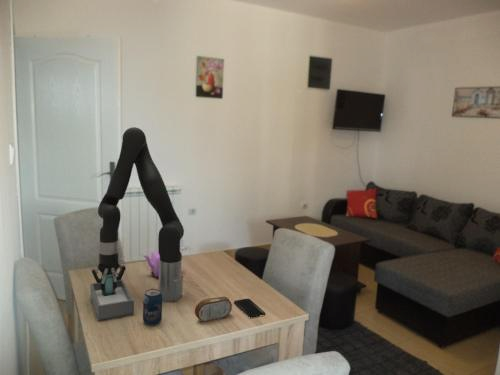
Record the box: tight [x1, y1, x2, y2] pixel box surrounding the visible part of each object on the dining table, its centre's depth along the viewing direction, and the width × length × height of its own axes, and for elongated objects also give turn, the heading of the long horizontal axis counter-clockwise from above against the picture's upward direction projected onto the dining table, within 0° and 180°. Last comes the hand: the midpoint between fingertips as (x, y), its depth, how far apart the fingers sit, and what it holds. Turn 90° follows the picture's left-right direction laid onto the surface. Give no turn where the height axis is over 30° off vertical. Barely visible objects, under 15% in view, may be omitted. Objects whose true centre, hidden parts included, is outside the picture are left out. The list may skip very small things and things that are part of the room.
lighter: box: [115, 257, 124, 276], centre depth 184 cm, size 7×2×8 cm, turn 120°
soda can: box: [142, 288, 163, 327], centre depth 142 cm, size 7×7×12 cm
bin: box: [90, 278, 135, 322], centre depth 153 cm, size 13×22×6 cm, turn 29°
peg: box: [104, 275, 113, 296], centre depth 158 cm, size 4×4×8 cm
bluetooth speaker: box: [194, 296, 233, 322], centre depth 148 cm, size 15×3×8 cm, turn 119°
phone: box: [233, 298, 266, 319], centre depth 158 cm, size 8×1×15 cm
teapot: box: [142, 250, 160, 279], centre depth 187 cm, size 20×10×12 cm, turn 118°
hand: (108, 290), depth 158 cm, fingers closed on peg, 3 cm apart
